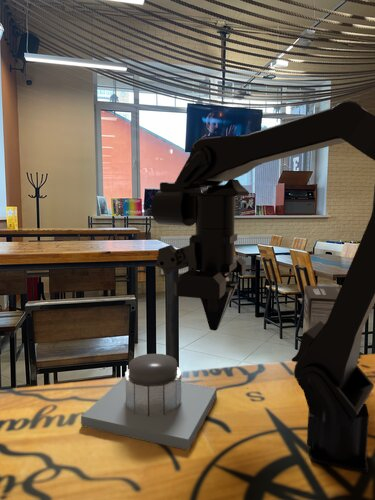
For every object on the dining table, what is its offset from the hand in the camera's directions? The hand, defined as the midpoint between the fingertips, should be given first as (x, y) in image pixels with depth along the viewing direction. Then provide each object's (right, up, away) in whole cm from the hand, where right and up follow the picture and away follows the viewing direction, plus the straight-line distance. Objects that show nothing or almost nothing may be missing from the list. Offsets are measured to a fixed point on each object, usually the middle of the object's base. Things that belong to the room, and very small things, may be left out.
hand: (213, 329), depth 58 cm
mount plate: (-9, -12, 0) cm, 15 cm away
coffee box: (+20, -11, +10) cm, 25 cm away
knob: (-9, -10, -1) cm, 13 cm away
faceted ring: (-9, -11, -1) cm, 14 cm away
